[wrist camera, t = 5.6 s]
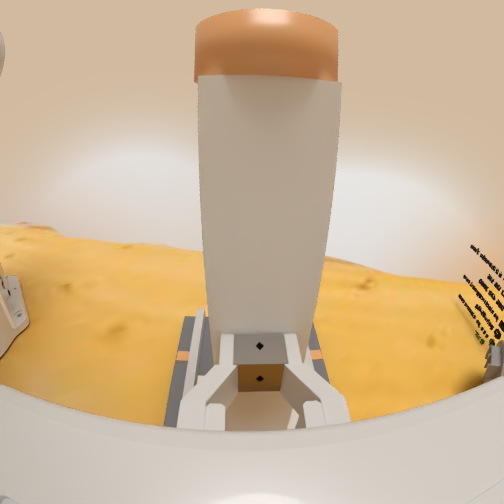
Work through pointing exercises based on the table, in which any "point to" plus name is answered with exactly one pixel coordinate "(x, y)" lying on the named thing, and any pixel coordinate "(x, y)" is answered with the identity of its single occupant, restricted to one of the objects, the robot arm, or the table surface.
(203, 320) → the slider track
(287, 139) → the slider handle
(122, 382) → the table surface
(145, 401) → the table surface
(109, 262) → the table surface
